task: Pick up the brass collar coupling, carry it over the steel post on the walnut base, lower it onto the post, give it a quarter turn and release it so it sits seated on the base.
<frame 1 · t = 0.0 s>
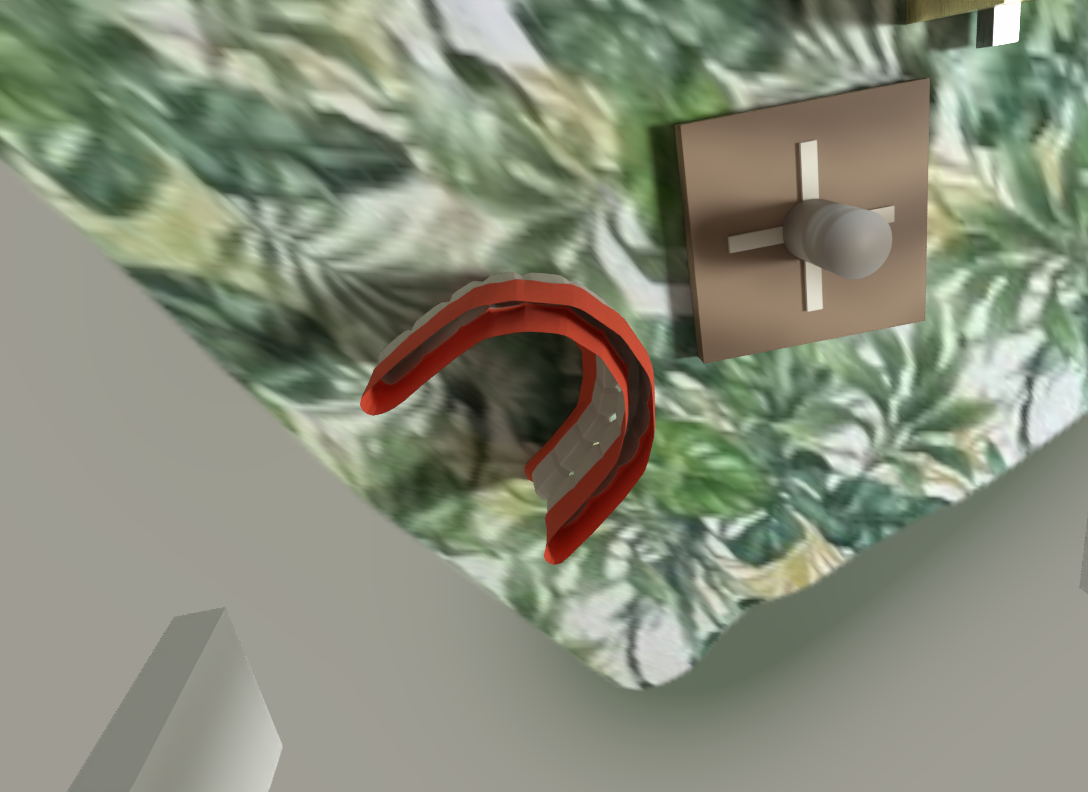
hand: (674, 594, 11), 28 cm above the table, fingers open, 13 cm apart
post block: (800, 225, 38), on the table
toy 2: (530, 355, 39), on the table
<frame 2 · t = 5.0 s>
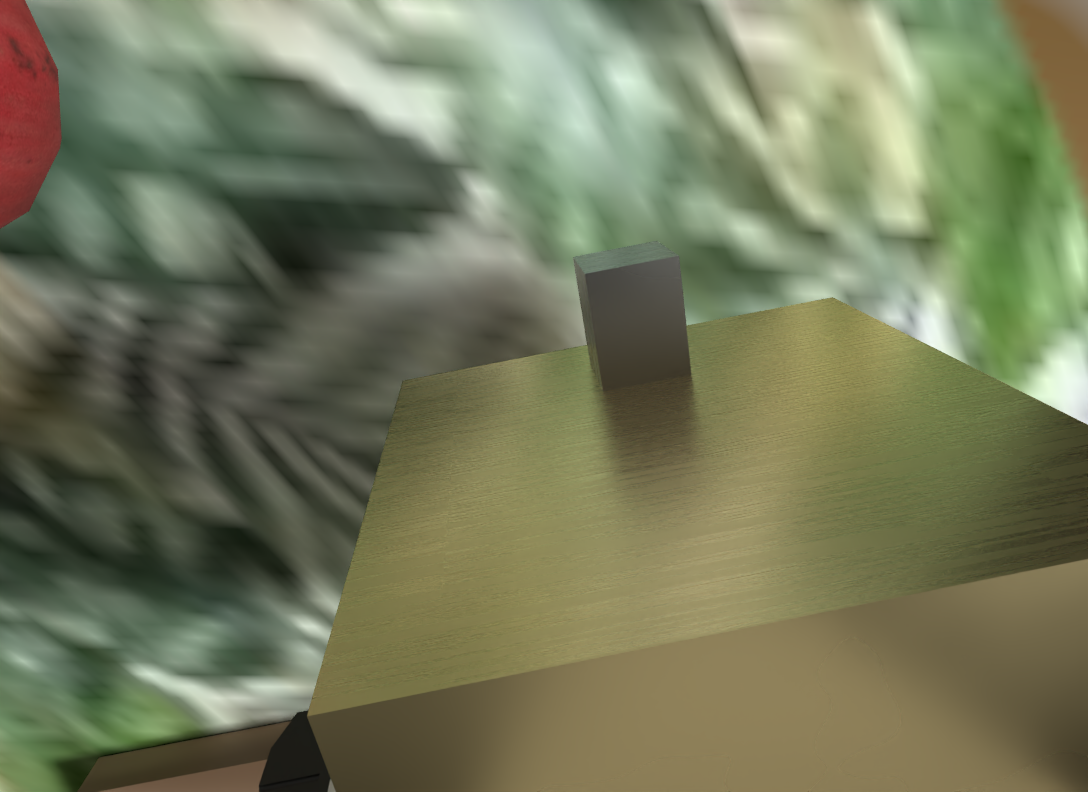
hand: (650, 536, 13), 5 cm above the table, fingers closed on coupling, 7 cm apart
coupling: (645, 525, 13), point 4 cm above the table, touching gripper
when the fingers open (2 cm above the table, at t = 10.2 s): coupling stays where it is, resting on post block.
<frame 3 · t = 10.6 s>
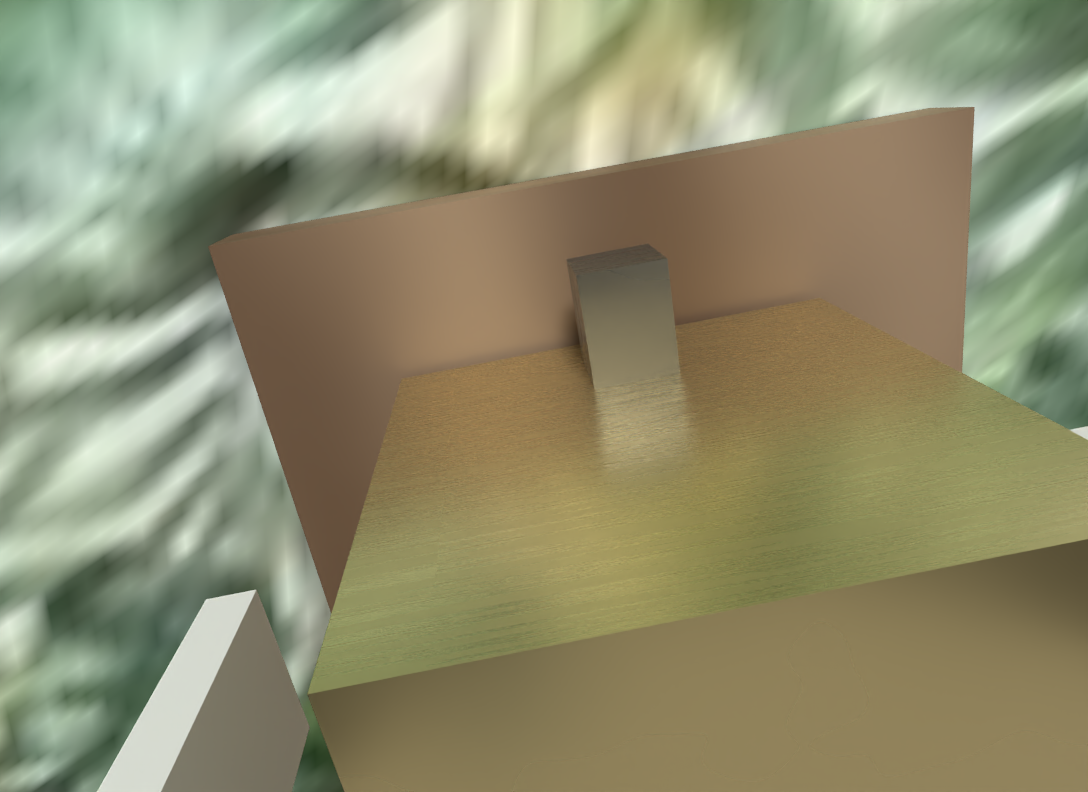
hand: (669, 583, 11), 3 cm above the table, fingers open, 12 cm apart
post block: (627, 481, 15), on the table
coupling: (638, 520, 13), point 1 cm above the table, touching post block
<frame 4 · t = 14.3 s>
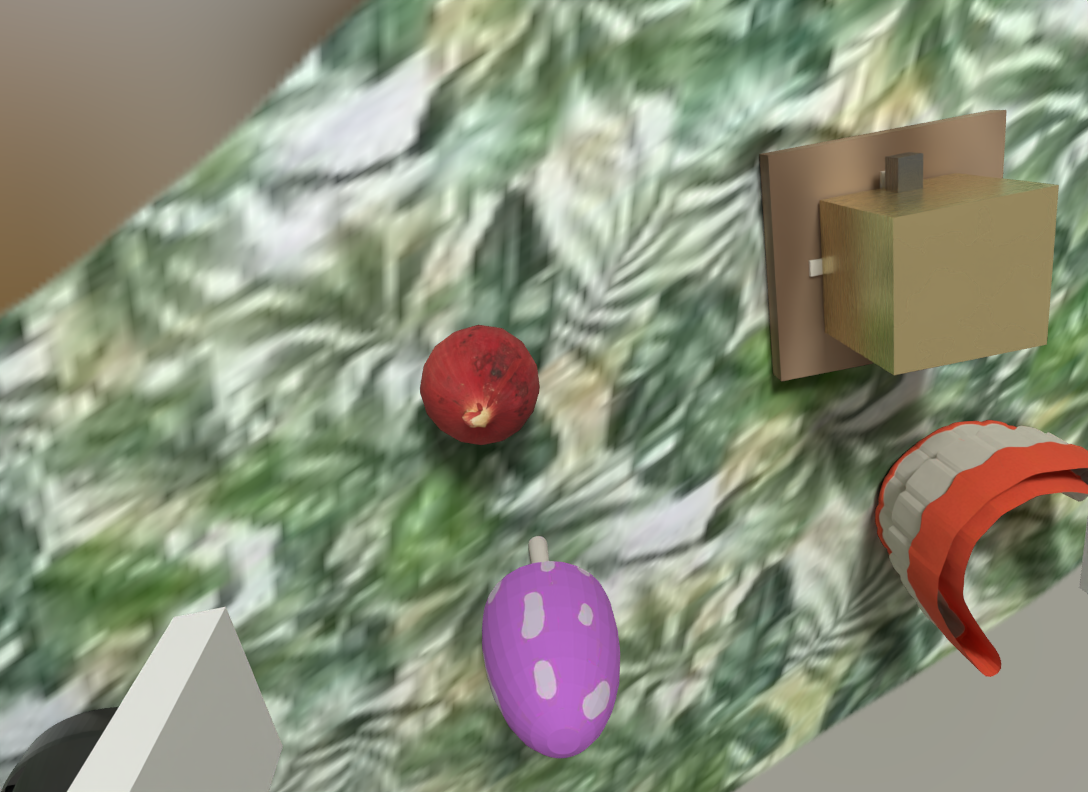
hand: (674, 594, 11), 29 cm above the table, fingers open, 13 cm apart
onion: (480, 360, 40), on the table
post block: (876, 249, 39), on the table
toy 2: (942, 481, 45), on the table
coupling: (888, 255, 38), point 1 cm above the table, touching post block
toy: (537, 542, 44), on the table
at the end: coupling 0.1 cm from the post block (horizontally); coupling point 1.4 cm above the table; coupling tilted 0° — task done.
